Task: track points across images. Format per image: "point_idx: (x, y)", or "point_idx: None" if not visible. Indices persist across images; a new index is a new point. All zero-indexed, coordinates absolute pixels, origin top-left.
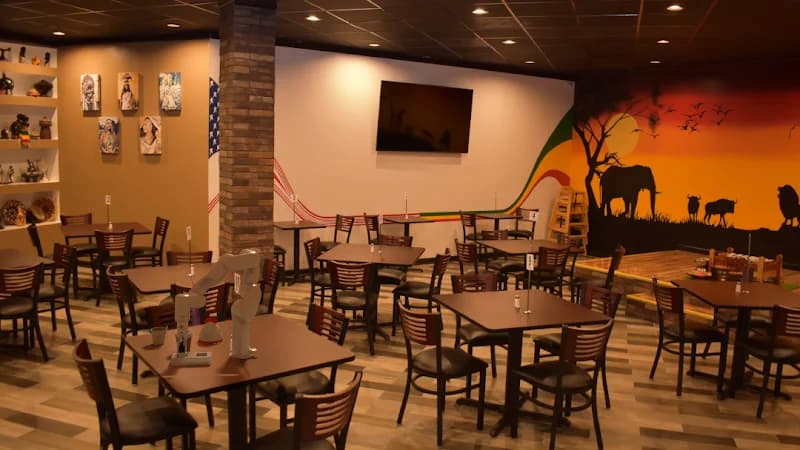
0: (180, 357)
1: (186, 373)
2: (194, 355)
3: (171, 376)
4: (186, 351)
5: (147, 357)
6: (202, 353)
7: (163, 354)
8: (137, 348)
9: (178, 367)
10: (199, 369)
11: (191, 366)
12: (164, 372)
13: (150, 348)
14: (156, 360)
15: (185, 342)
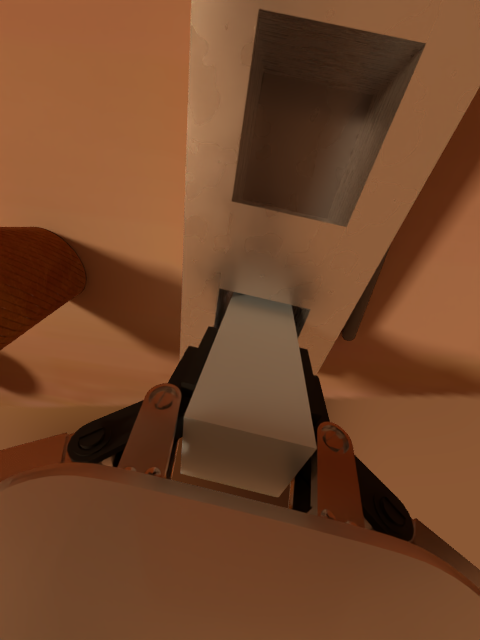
0: (312, 354)
1: (465, 304)
2: (305, 238)
3: (450, 377)
4: (56, 258)
5: (131, 401)
6: (243, 116)
7: (85, 352)
8: (32, 405)
9: (351, 338)
10: (445, 198)
11: (380, 262)
12: (359, 389)
13: (17, 377)
14: None
15: (314, 446)
